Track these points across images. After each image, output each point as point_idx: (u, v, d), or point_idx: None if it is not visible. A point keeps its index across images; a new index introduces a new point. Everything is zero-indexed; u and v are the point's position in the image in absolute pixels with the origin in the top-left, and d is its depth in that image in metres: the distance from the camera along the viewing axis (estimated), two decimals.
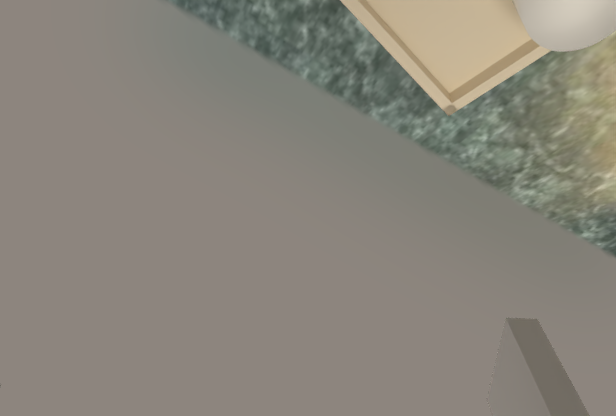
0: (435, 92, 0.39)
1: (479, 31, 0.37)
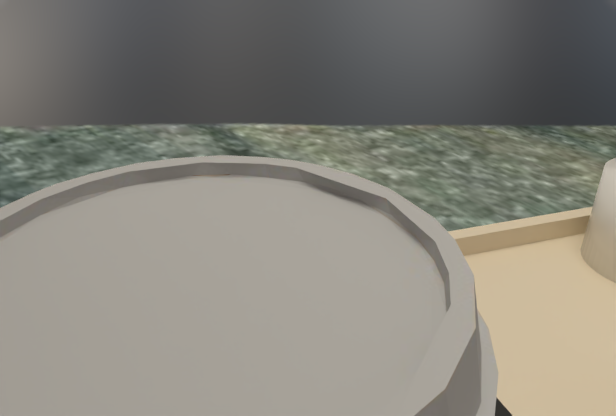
0: None
1: None
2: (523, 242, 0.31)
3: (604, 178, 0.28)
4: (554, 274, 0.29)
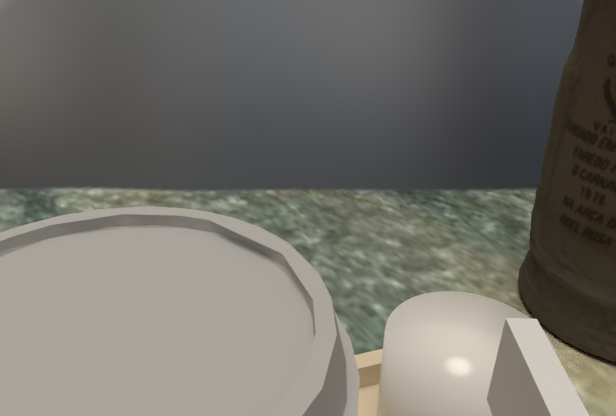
0: None
1: None
2: None
3: (384, 335, 0.21)
4: None
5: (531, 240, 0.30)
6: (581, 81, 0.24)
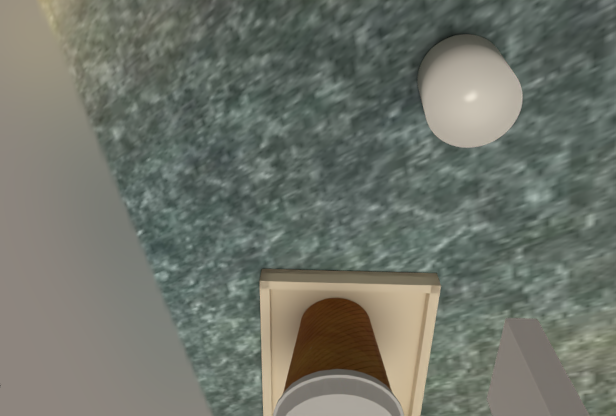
0: None
1: None
2: (412, 387, 0.52)
3: None
4: None
5: None
6: None
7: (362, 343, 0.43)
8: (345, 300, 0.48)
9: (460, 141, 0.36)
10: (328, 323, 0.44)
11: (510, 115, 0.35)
